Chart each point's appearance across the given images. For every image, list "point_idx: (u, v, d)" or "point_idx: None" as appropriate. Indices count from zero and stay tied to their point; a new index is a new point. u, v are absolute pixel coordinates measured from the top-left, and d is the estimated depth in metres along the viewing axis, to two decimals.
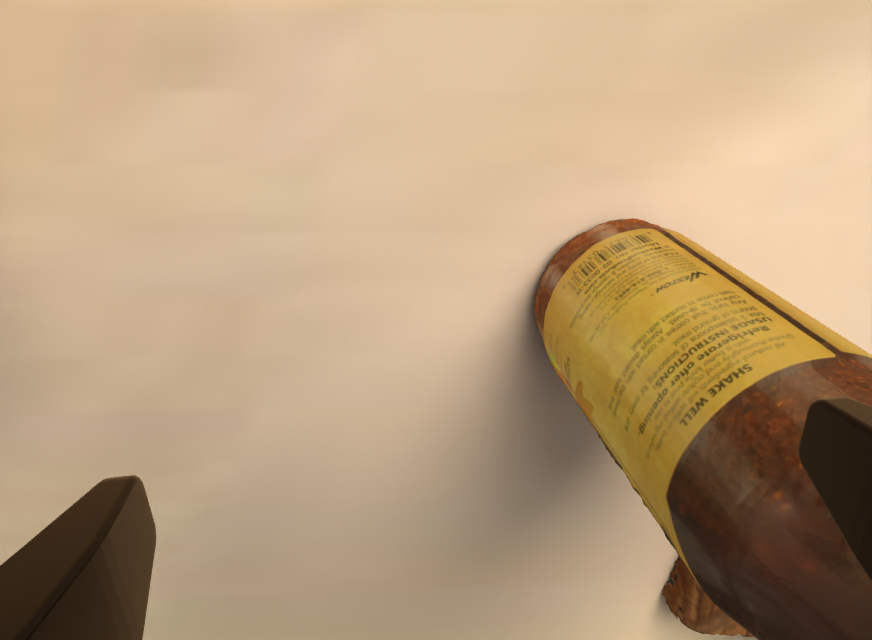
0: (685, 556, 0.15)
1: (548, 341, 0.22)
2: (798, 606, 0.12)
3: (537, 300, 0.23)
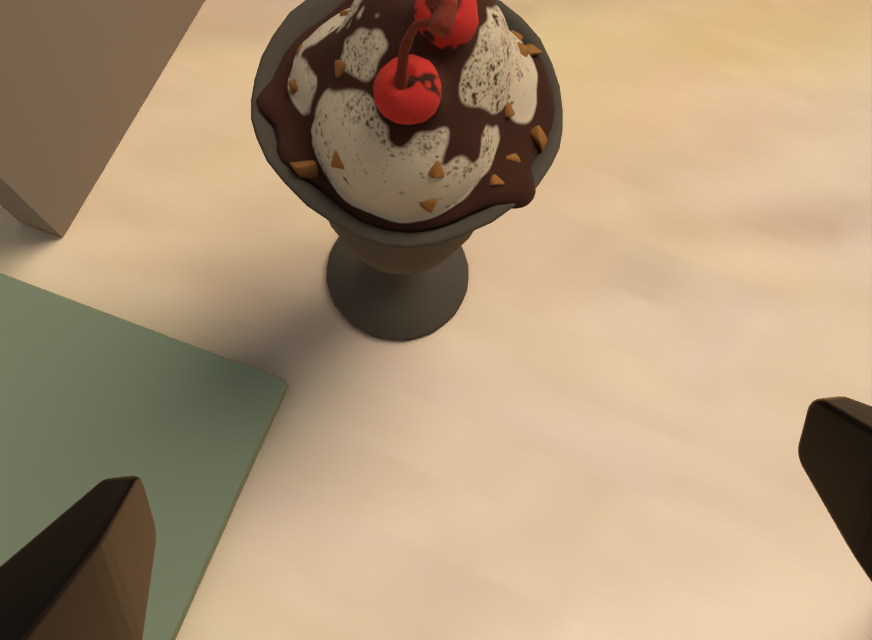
0: None
1: None
2: None
3: None
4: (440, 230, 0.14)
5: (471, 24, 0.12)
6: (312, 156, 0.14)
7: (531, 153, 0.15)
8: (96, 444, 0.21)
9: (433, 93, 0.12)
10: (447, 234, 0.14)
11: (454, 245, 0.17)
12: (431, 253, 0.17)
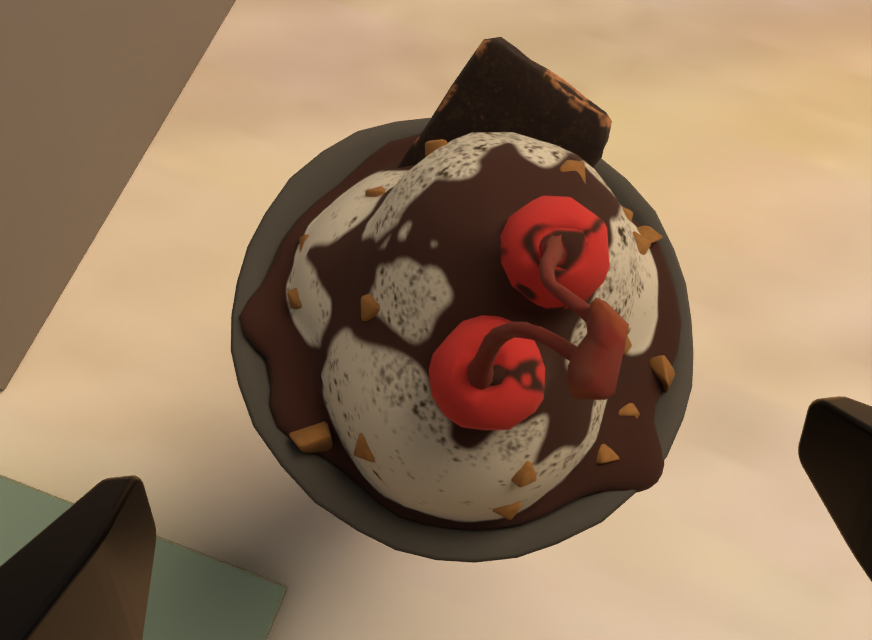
0: None
1: None
2: None
3: None
4: (520, 531, 0.09)
5: (600, 276, 0.07)
6: (323, 413, 0.09)
7: (653, 398, 0.10)
8: None
9: (534, 390, 0.07)
10: (533, 542, 0.09)
11: None
12: None
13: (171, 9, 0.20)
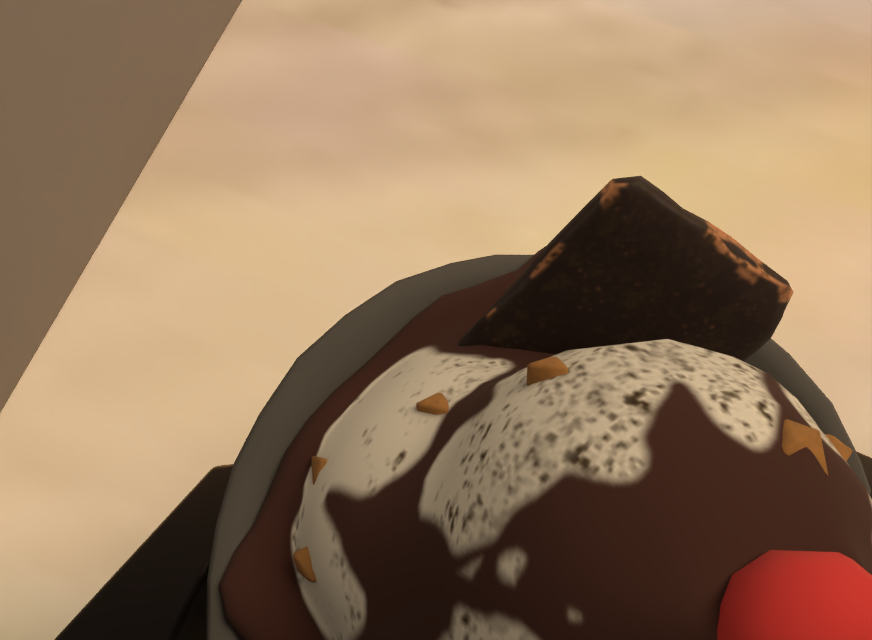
0: None
1: None
2: None
3: None
4: None
5: None
6: None
7: None
8: None
9: None
10: None
11: None
12: None
13: (145, 47, 0.17)
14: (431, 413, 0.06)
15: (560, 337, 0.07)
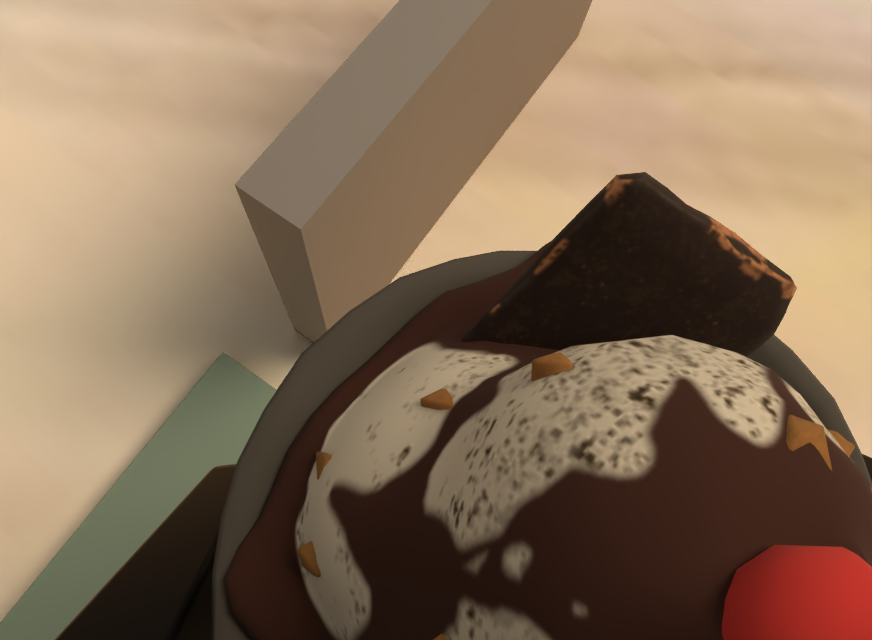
0: None
1: None
2: None
3: None
4: None
5: None
6: None
7: None
8: None
9: None
10: None
11: None
12: None
13: (531, 72, 0.24)
14: (435, 408, 0.06)
15: (564, 333, 0.07)
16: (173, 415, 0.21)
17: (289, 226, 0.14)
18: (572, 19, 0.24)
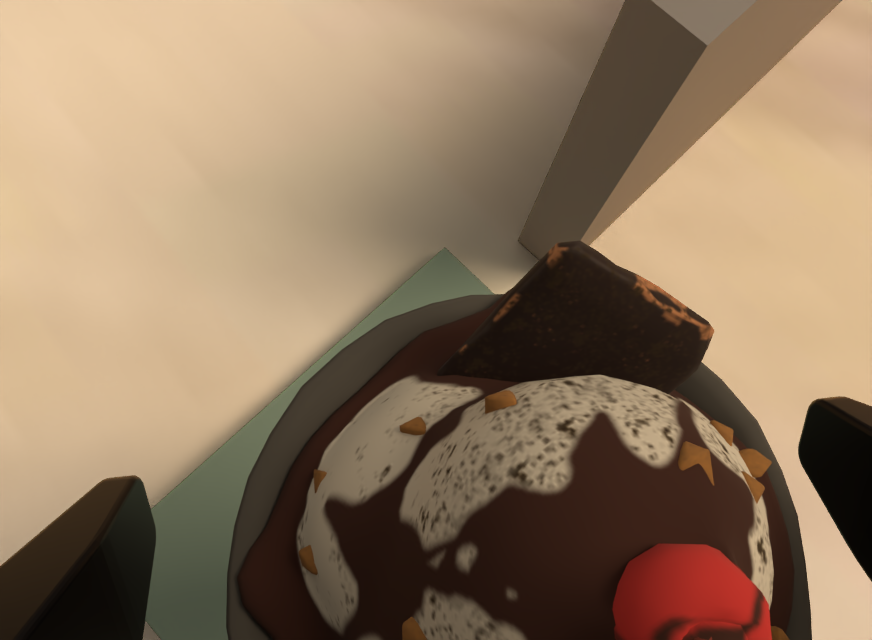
0: None
1: None
2: None
3: None
4: None
5: None
6: None
7: None
8: None
9: None
10: None
11: None
12: None
13: (823, 6, 0.21)
14: (412, 434, 0.07)
15: (521, 368, 0.08)
16: (385, 303, 0.19)
17: (685, 44, 0.11)
18: None
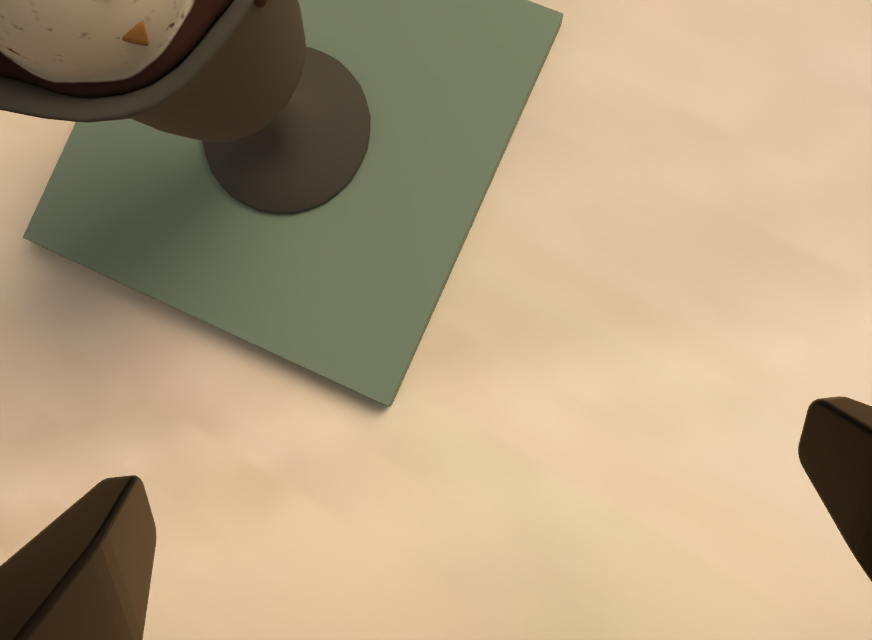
0: None
1: None
2: None
3: None
4: (184, 63, 0.10)
5: None
6: None
7: None
8: (361, 80, 0.20)
9: None
10: (192, 65, 0.10)
11: (273, 72, 0.13)
12: (246, 96, 0.13)
13: None
14: None
15: None
16: None
17: None
18: None
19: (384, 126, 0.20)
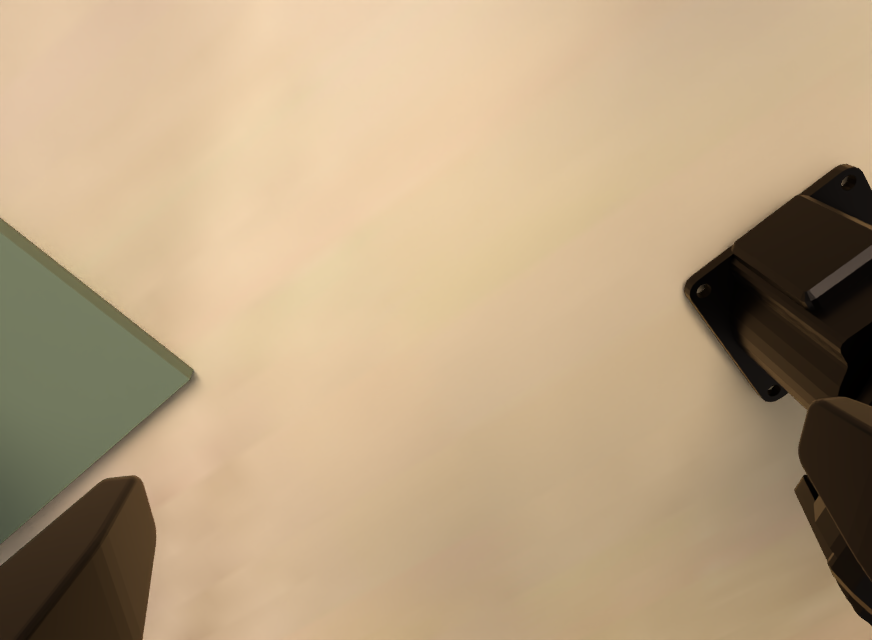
0: None
1: None
2: None
3: None
4: None
5: None
6: None
7: None
8: None
9: None
10: None
11: None
12: None
13: None
14: None
15: None
16: None
17: None
18: None
19: None
